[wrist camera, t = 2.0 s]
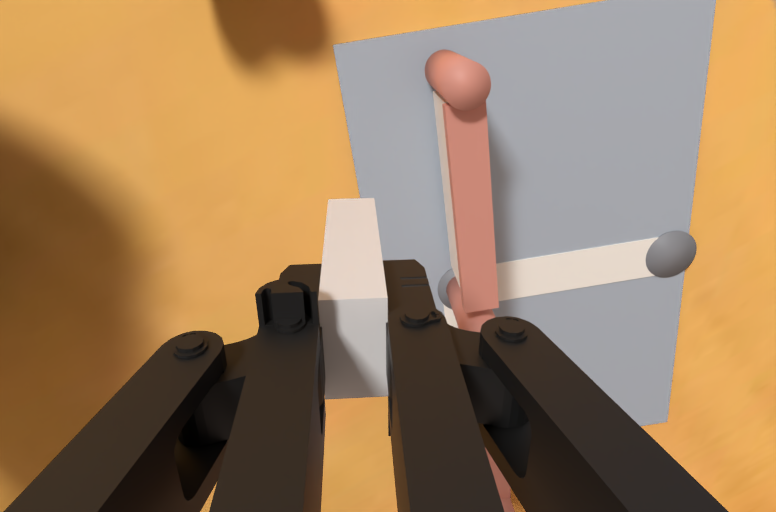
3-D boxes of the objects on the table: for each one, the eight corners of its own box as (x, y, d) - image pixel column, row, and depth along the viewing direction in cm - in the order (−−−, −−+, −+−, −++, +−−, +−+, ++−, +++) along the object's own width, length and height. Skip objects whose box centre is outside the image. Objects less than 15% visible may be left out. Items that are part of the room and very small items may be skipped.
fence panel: (478, 262, 36) (504, 314, 30) (446, 268, 36) (465, 321, 30) (460, 46, 30) (489, 57, 24) (422, 52, 30) (441, 65, 24)
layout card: (408, 465, 45) (408, 470, 44) (333, 44, 30) (332, 45, 30) (670, 422, 45) (674, 426, 44) (723, -19, 30) (730, -20, 30)
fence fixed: (463, 450, 44) (484, 530, 38) (443, 273, 37) (465, 333, 30) (491, 445, 44) (517, 524, 38) (477, 267, 37) (506, 326, 30)
